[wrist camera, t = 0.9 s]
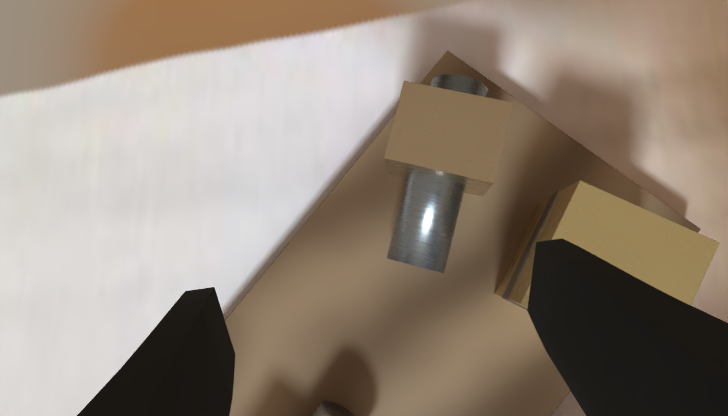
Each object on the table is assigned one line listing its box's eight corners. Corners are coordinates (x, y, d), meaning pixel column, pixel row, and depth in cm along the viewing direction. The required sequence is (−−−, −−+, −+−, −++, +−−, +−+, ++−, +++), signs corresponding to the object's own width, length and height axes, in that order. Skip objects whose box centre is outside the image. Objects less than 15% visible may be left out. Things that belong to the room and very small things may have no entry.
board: (686, 231, 22) (700, 229, 21) (341, 659, 22) (336, 681, 21) (446, 60, 25) (447, 50, 24) (134, 439, 25) (119, 448, 23)
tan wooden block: (639, 248, 21) (721, 242, 16) (593, 345, 21) (659, 376, 15) (537, 201, 22) (579, 178, 16) (492, 294, 22) (518, 304, 16)
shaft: (462, 278, 22) (470, 280, 19) (369, 253, 23) (359, 251, 19) (503, 106, 23) (519, 76, 19) (412, 88, 24) (410, 55, 20)
